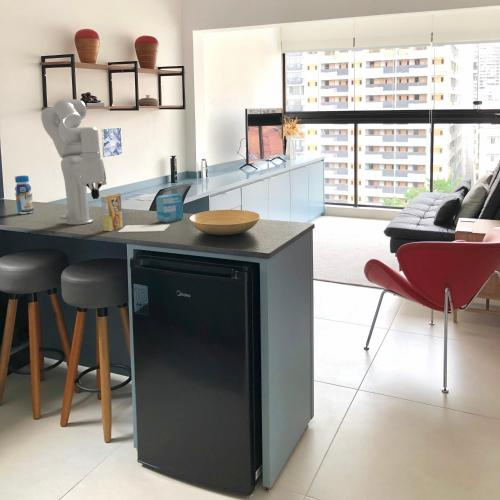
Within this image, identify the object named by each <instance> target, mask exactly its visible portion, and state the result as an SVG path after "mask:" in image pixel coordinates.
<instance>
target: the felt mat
mask: <svg viewBox="0 0 500 500" xmlns="http://www.w3.org/2000/svg"><path fill="white" fill-rule="evenodd" d="M170 226H171V223H170V224H169V223H167V224H132V225H129V224H128V225H127V224H126V225H125V226H123V228H120V230H118V231H117V233H149V232H165V230H167V228H168V227H170Z"/></svg>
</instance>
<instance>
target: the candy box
mask: <svg viewBox="0 0 500 500" xmlns="http://www.w3.org/2000/svg"><path fill="white" fill-rule="evenodd" d="M100 199H101V210H102V211H101V212H102V223H103V231H105V232H107V231H108V232H112V231H116V230H118V229H122V228H124V225H123V213H122V210H123V209H122V198H121V194H120V193H111V194H106V195H101V196H100Z"/></svg>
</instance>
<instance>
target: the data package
mask: <svg viewBox="0 0 500 500" xmlns="http://www.w3.org/2000/svg"><path fill="white" fill-rule="evenodd" d="M155 201H156V202H155V203H156V216H157V221H158V222H160V223H161V222H162V223H171V222H175V221H180V220H183V217H184V210H183V209H184V208H183V207H184V206H183V196H182V194H176V193H172V194H165V195H158V196H157V197H156V199H155Z"/></svg>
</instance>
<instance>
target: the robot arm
mask: <svg viewBox="0 0 500 500" xmlns="http://www.w3.org/2000/svg"><path fill="white" fill-rule="evenodd" d="M40 114H41V115H40V120H41V123H42V127H43V128H44V130H45V132H46V133H47V135H48V136H49V137H50V139H52V142H53V144H54V147H55V149H56V151H57V154H58V155H59V157H60V158H61V161H60V167H61V172H62V175H63V180H64V186H65V187H64V188H65V195H66V198H65V199H66V206H67V213H66V214H60V215H59V218H60V219H61V220H65V224H66V225H73V226H75V225H86V224H91V223H93V222H94V219H93V218H90V210H89V201H88V200H89V199H88V192H87V191H88V190H87V188H88V189H89V190H90V194H91V197H92V200H98V199H99V197H100V191H99V190H100V189H101V187H102V186H105V185H107V177H106V176H107V175H106V168H105V165H104V160H103V159H102V158H101V151H100V149H101V148H100V141H99V140H100V139H99V131H98V128H97V127H91V126H90V127H88V126H83V127H81V126H80V125H81V123H82V120H83V119H84V118H86V116H87V106H86V104H85V102H84V101H83V100H81V99H60V100H57V101H56V102H55V103H54V105H53V106H52V107H47V108H44V109H43V110H42V111H41V113H40ZM94 184H95V185H94Z"/></svg>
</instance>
